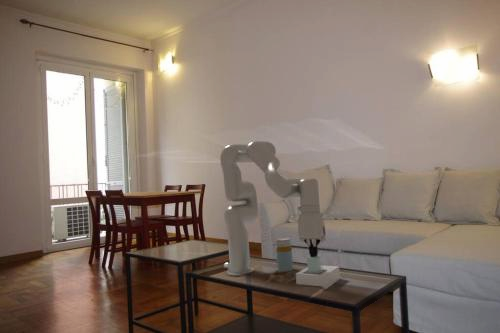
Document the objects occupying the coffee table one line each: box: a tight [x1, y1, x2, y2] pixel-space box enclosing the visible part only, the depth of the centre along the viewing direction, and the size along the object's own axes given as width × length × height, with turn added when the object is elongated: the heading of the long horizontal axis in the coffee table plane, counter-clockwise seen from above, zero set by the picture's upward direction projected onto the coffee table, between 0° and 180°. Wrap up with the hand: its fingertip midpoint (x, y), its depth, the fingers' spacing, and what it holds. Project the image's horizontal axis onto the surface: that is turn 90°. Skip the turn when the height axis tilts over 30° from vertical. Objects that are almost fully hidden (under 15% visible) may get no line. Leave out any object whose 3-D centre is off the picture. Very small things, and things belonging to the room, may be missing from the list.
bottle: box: [275, 237, 294, 272], centre depth 178 cm, size 7×7×15 cm
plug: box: [306, 255, 322, 273], centre depth 154 cm, size 4×4×10 cm
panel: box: [295, 264, 341, 290], centre depth 156 cm, size 12×16×5 cm
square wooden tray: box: [266, 270, 296, 284], centre depth 161 cm, size 10×8×4 cm
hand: (313, 256), depth 154 cm, fingers closed
